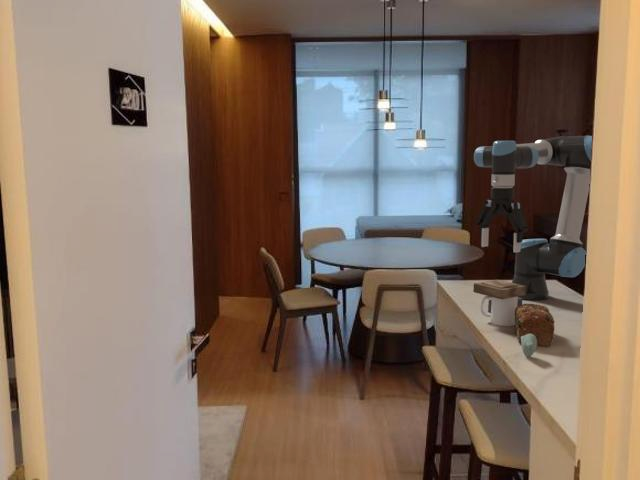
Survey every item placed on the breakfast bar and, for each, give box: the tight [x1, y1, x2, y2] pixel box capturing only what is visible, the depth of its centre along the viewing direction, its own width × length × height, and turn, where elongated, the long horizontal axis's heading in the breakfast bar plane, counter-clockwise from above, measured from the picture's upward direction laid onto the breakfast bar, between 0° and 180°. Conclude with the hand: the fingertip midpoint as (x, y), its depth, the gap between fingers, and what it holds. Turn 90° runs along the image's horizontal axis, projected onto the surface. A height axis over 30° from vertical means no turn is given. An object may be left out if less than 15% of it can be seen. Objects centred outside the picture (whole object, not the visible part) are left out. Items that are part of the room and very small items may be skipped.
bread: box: [514, 303, 555, 348], centre depth 189 cm, size 19×11×10 cm, turn 165°
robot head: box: [520, 334, 538, 358], centre depth 171 cm, size 8×4×7 cm, turn 177°
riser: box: [487, 297, 524, 314], centre depth 219 cm, size 11×6×5 cm, turn 123°
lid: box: [472, 279, 526, 299], centre depth 204 cm, size 12×12×3 cm
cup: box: [479, 295, 518, 327], centre depth 205 cm, size 8×12×10 cm
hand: (500, 249), depth 207 cm, fingers open, 13 cm apart
